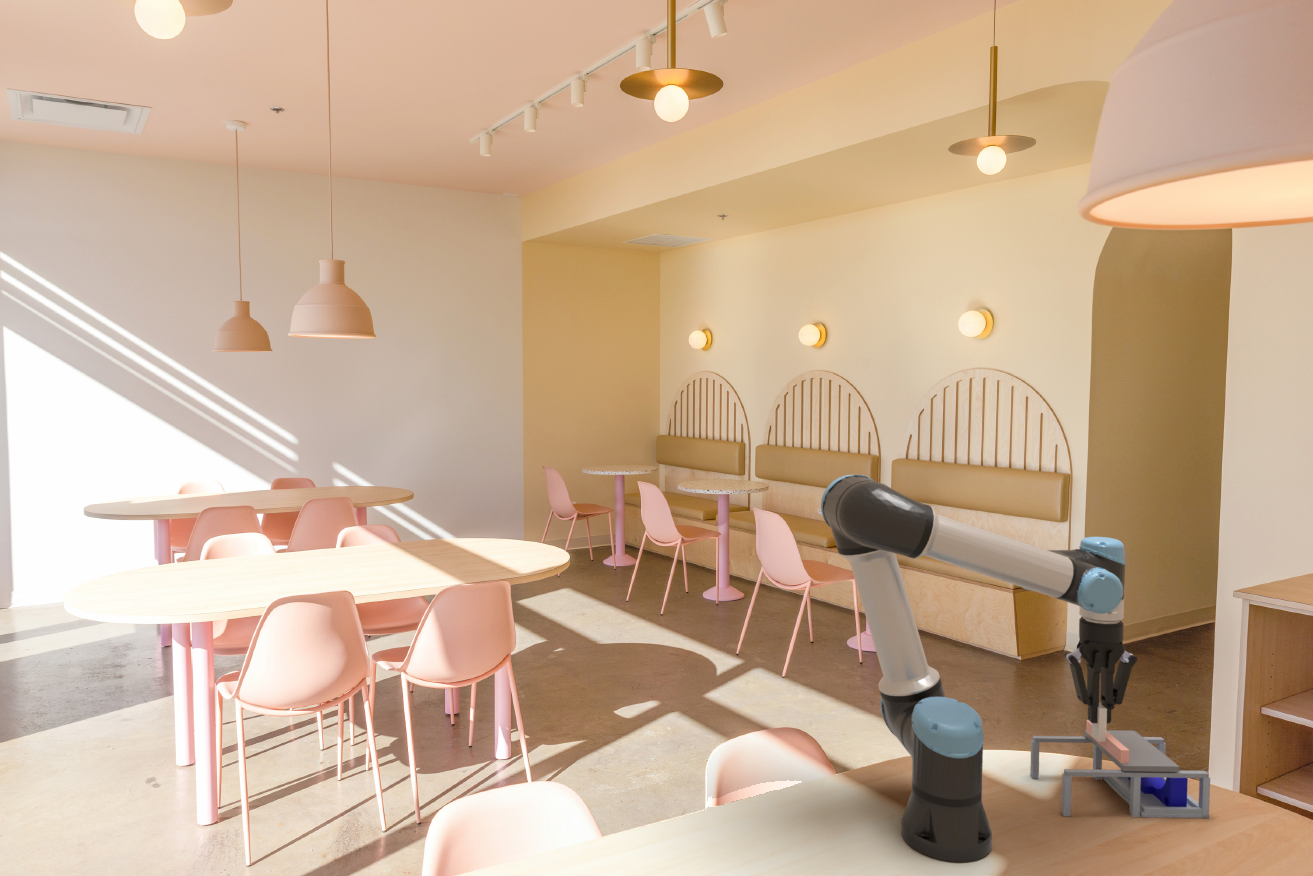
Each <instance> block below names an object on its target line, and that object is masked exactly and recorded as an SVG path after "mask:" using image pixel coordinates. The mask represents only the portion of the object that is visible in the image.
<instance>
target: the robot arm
mask: <svg viewBox="0 0 1313 876" xmlns="http://www.w3.org/2000/svg"><path fill="white" fill-rule="evenodd" d="M820 510H821V514H822V517H823V518H822V519H823V520H824V521H825V524H827V526H829V528H830V529H831V532H832V536H833V539H834V542H835V546H836V550H837V552H838V554H839V556H840V557H842V558H844V559H846V560H848V561H849V564H850V567H851V571H852V574H853V578H854V582H855V585H856V588H857V591H858V595H859V598H860V602H861V605H862V607H863V608H862V609H863V612H864V615H865V619H866V622H867V625H868V629H869V631H870V636H871V639H872V642H873V645H874V648H875V653H876V656H877V658H878V663H879V666H880V669H881V673H882V674H883V676H882V677H881V678H880V680H879V682H878V684H877V685H878V691H879V693H880V706H879V708H880V713H881V716H882V718H883V722H884V724H885V726H886V727H887V728H888V730H889V731H890V733H891V734H892V735H894V736H895V737H896V739H897V740H898V741H899V742H900V744H901V745H902V747H904V749H905V750H906V751H907V753H908V754H909V755H910V756H911V764H912V765H911V769H912V770H911V793H910V795H909V798H908V800H907V803H906V806H905V809H904V811H903V814H902V817H901V824H900V825H901V827H900V828H901V829H900V830H901V836H902V839H903V840H904V842H905V843H906V844H907V845H908V846H909V847H911V848H912V849H913V850H915V851H917V852H918V853H920V854H922V855H925V856H928V857H931V858H933V859H936V860H937V859H938V860H941V861H945V862H946V861H947V862H955V863H957V862H959V863H963V862H965V863H966V862H973V861H978V860H980V859H983V858H985V857H986V856H987V855H989V854H990V852H991V850H992V849H993V847H992V846H993V833H992V832H993V831H992V829H991V825H990V822H989V819H988V815H987V813H986V809H985V806H984V803H983V798H982V797H983V766H984V765H983V763H984V761H983V758H984V757H983V756H984V754H983V753H984V742H985V740H984V739H985V733H984V729H983V721H982V717H981V716H980V714H979V712H978V711H976V710H975V709H974V708H973V707H972V706H970V705H969V704H968V703H966V702H963V701H962V702H959V700H958V699H956V698H951V697H947V696H946V693H945V689H944V685H943V682H942V680H941V677H940V674H939V673H940V672H939V671H938V670H937V669H935V668H933V667H931V665H929V664H928V661H927V657H926V654H925V650H924V647H923V643H922V640H921V637H920V634H919V630H918V627H917V623H916V619H915V616H914V612H913V610H912V605H911V602H910V600H909V599H910V598H909V595H908V593H907V590H906V585H905V582H904V578H903V575H902V571H901V568H900V565H899V561H898V558H897V555H900V556H903V557H904V556H905V557H906V558H907V557H908V558H910V559H914V560H916V559H918V558H919V559H920V558H921V557H922V556H923V557H927V558H929V559H932V560H936V561H939V562H942V563H945V564H949V565H951V566H954V567H957V568H962V569H965V570H967V571H971V572H974V573H976V574H979V575H983V576H985V577H989V578H992V579H995V580H997V581H1001V582H1005V583H1007V584H1011V585H1014V586H1018V587H1020V588H1023V589H1024V590H1026V591H1033V592H1036V593H1039V594H1041V595H1046V596H1049V597H1052V598H1055V599H1057V600H1060V601H1063V602H1067V603H1069V604H1072V605H1075V606H1078V607H1079V609H1078V610H1079V612H1078V614H1079V616H1081V617H1080V618H1079V620H1078V621H1079V622H1078V623H1079V624H1078V625H1079V626H1078V627H1079V628H1078V637H1079V640H1078V643H1077V644H1076V649H1074V650H1073V651H1071V652H1065V653H1064V658H1065V660H1066V662H1068V664H1069V667H1070V672H1071V676H1072V680H1073V685H1074V687H1075V688H1074V689H1075V693H1076V697H1077V699H1078V700H1079V701H1080V702H1081V703H1082V704H1083V705H1086V706H1087V720H1089V721H1090V722H1091V723H1092V736H1093V737H1094V738H1095V739H1096V740H1097V741H1098V742H1106V731H1107V725H1108V724H1111V722H1112V710H1114V709H1115V707H1116V706H1115V705H1122V704H1123V702H1124V697H1125V694H1126V690H1127V686H1128V683H1129V680H1130V676H1131V673H1132V669H1133V667H1134V666H1135V664H1136V663H1137V661H1138V657H1137V656H1136V655H1134V654H1132V653H1131V652H1130V651H1126V647H1125V646H1124V643H1123V640H1124V625H1125V624H1124V622H1123V620H1124V615H1125V614H1124V613H1125V607H1124V606H1125V579H1126V578H1125V575H1126V572H1125V571H1126V570H1125V569H1126V564H1127V563H1126V551H1125V545H1124V543H1123V542H1122V541H1121V540H1119V539H1116V538H1113V537H1105V536H1087V537H1083V538H1082V539H1081V540H1080V543H1079V546H1078V547H1079V548H1076V549H1054V550H1053V549H1051V550H1050V549H1049V550H1048V549H1044V548H1042V547H1038V546H1034V545H1032V544H1029V543H1027V542H1023V541H1020V540H1016V539H1013V538H1011V537H1007V536H1004V535H1001V534H998V533H996V532H992V531H989V530H986V529H983V528H980V527H977V526H974V525H971V524H968V523H965V522H962V521H960V520H956V519H954V518H953V519H952V518H950V517H947V516H944V515H940V514H938V513H936V511H935V509H934V507H933V506H932V505H928V504H926V503H923V502H921V501H917V500H915V499H913V498H911V497H909V496H906V495H904V494H903V493H901V492H899V491H897V490H896V489H893V487H890V486H888V485H886V484H884V483H882V482H879V481H876V480H874V479H873V478H871V477H869V476H867V475H863V474H845V475H842V476H840V477H837V478H836V479H835V480H832V481H831V483H830V484H829V485H828V486H827V487H826V488H825V490H824V492H823V493H822V496H821V500H820ZM1081 657H1082V658H1083V660H1084V661H1085V663H1086V664H1085V666H1086V670H1087V673H1086V675H1087V677H1086V679H1087V681H1086V680H1085V676H1084V672H1083V669H1082V665H1081V662H1082V659H1081ZM1118 662H1119V663H1118ZM1117 663H1118V666H1117V668H1116V664H1117ZM1115 669H1116V673H1115ZM1114 673H1115V677H1114ZM1085 681H1086V682H1087V683H1086V682H1085ZM1100 702H1101V703H1100Z"/></svg>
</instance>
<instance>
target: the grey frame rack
mask: <svg viewBox="0 0 1313 876" xmlns="http://www.w3.org/2000/svg"><path fill="white" fill-rule="evenodd" d="M1142 737H1143V738H1144V739H1146V740H1147V741H1148V742H1149V743H1151V744H1156V746H1155V747H1156V748H1157V749H1158V750H1159V751H1161V752H1162V753H1163V754H1164V755H1166V753H1167V752H1166V750H1167V749H1166V745H1167V744H1166V743H1167V742H1165V739H1164V738H1163V737H1162V736H1159V737H1158V736H1151V737H1150V736H1142ZM1040 743H1069V744H1070V743H1077V744H1078V743H1079V744H1082V743H1083V744H1085V743H1087V744H1091V743H1092V742H1091V741H1090V740H1089V739H1088V738H1087V737H1086V736H1084V735H1083V736H1081V735H1079V736H1078V735H1077V736H1075V735H1074V736H1073V735H1071V736H1070V735H1067V736H1066V735H1032V739H1030V768H1029V769H1030V777H1031V779H1033V780H1039V778H1040V777H1039V776H1040V775H1039V774H1040ZM1092 744H1093V743H1092ZM1092 750H1093V751H1092V753H1093V754H1092V769H1091V768H1089V769H1086V768H1085V769H1084V768H1083V769H1078V768H1064V769H1063V772H1062V774H1061V775H1062V777H1061V808H1060V809H1061V815H1062V816H1064V817H1072V785H1073V784H1072V781H1073V779H1072V777H1091V778H1093V779H1094V780H1103V781H1104V782H1105V783H1107V785H1109V787H1110V788H1112V790H1113V791H1114V792H1115V793H1116V794H1117V795H1118V796H1120V798H1121V799H1123V801H1125V802H1126V803H1127V804H1128V805H1129V815H1130V816H1131V817H1132V818H1140V817H1141V818H1160V819H1162V818H1163V819H1164V818H1167V819H1168V818H1170V819H1174V818H1176V819H1210V796H1211V777H1209V775H1210V774H1209V773H1208V772H1207V771H1206V770H1180V769H1179V772H1150V771H1123V770H1122V769H1103V752H1102V751H1101V750H1100V749H1099V748H1098V747H1096V746H1095V745H1094V744H1093V746H1092ZM1128 777H1131V781H1130V780H1129V779H1128ZM1141 777H1162V779H1163V780H1164V782H1166V778H1188V779H1191V778H1192V779H1199V783H1198V784H1199V785H1198V787H1199V788H1198V801H1197V800H1195V799H1194V797H1192V796H1191V795H1190V794H1188V793H1187V807H1167V806H1166V805H1165V804H1163V803H1162V802H1161V801H1160V800H1159V799H1158V798H1157V797H1155V796H1154V795H1153V794H1144V793H1143V792H1142V791H1141V790H1140V786H1141Z"/></svg>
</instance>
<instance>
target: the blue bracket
mask: <svg viewBox="0 0 1313 876" xmlns="http://www.w3.org/2000/svg"><path fill="white" fill-rule="evenodd" d="M1128 779H1129V780H1130V781H1131V777H1128ZM1188 779H1189V778H1166V782H1164V780H1163V779H1162V777H1141V786H1140V790H1141V791H1142V792H1143V793H1144V794H1153V795H1154V796H1155V797H1157V798H1158V799H1159V800H1160V801H1161V802H1162V803H1163V804H1165V805H1166V806H1167V807H1187V794H1188V782H1189V781H1188Z"/></svg>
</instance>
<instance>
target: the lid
mask: <svg viewBox="0 0 1313 876" xmlns="http://www.w3.org/2000/svg"><path fill="white" fill-rule="evenodd" d="M1083 736H1086V737H1087V738H1088V739H1089V740H1090V741H1091V742H1092V744H1094V745H1095V746H1096V747H1098V748H1099V749H1100V750H1101V751H1102V754H1104V755H1105V756H1106V757H1107V758H1108V759H1109V760H1111V761H1112V763H1114V764H1115V765H1116V766H1117V767H1118V768H1119V770H1123V771H1150V772H1179V770H1180V765H1178V764H1177V763H1176V762H1175V761H1173V760H1172V759H1171V758H1170V757H1168V756H1167V755H1166V754H1165V755H1164V754H1163V753H1162V752H1161V751H1159V750H1158V749H1157V748H1156V746H1155V745H1154V744H1153V743H1149V742H1148V741H1147V740H1146V739H1144V738H1143V737H1144V736H1142V735H1141V734H1139V733H1138V732H1137V731H1136V730H1107V731H1106V742H1098V741H1097V740H1096V739H1095V738H1094V737H1093V736H1092V723H1091V722H1090V721H1089V720H1088V719H1086V729H1084V730H1083Z"/></svg>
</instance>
